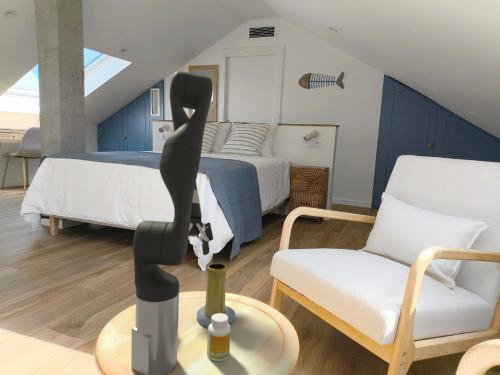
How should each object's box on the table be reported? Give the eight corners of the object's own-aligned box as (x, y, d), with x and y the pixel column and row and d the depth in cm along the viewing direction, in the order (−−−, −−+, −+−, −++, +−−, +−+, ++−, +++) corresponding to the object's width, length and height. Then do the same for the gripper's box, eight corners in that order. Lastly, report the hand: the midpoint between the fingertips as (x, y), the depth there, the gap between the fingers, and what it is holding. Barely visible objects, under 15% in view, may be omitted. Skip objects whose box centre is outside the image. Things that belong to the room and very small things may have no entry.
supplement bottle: (233, 357, 84) (235, 319, 82) (213, 364, 81) (214, 325, 79) (222, 345, 88) (224, 309, 87) (203, 351, 85) (204, 314, 84)
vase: (227, 309, 104) (229, 263, 101) (223, 319, 98) (225, 271, 95) (206, 307, 104) (208, 261, 102) (202, 317, 98) (203, 269, 96)
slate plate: (216, 333, 93) (217, 328, 93) (188, 318, 100) (188, 313, 100) (242, 317, 102) (242, 313, 102) (215, 305, 109) (215, 300, 108)
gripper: (175, 199, 107) (181, 252, 101) (212, 203, 116) (220, 251, 110) (163, 208, 112) (168, 258, 106) (200, 210, 121) (206, 257, 115)
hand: (194, 254), depth 108 cm, fingers open, 8 cm apart
